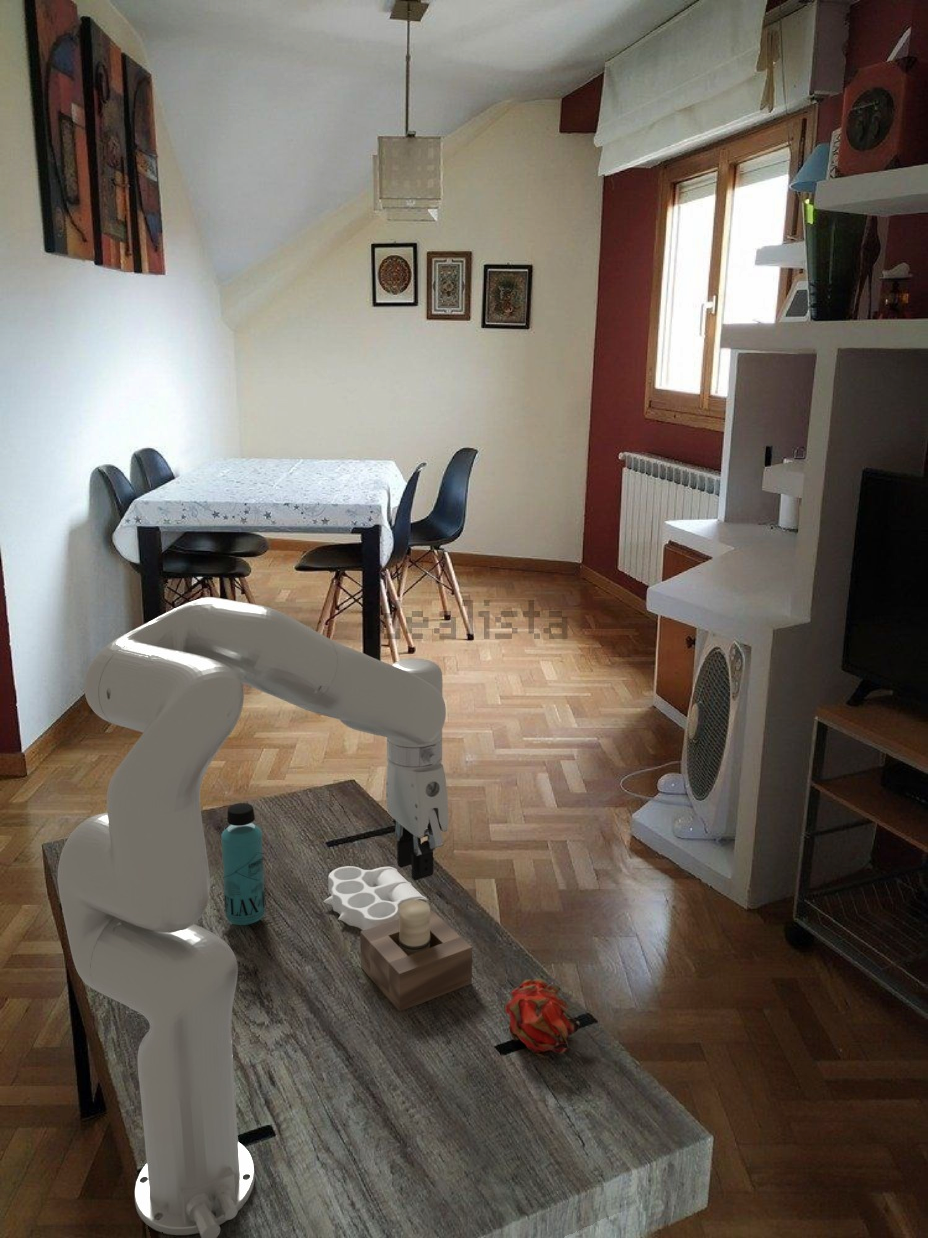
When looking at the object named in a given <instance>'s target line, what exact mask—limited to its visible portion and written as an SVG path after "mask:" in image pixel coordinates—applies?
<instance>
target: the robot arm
mask: <svg viewBox="0 0 928 1238" xmlns="http://www.w3.org/2000/svg"><path fill="white" fill-rule="evenodd" d="M243 685H246V686H247V687H248V686H249V687H251V688H254V689H256V690H258V691H261V692H262V693H265V694H268V695H270V696H273V697H275V698H278V699H280V700H282V701H283V702H287V703H289V704H291V705H294V706H295V707H298V708H300V709H303V710H305V711H308V712H311V713H314V714H317V715H318V714H319V715H321V716H325V717H328V718H332V719H336V720H339V721H340V722H341V723H342V724H343V725H345V726H346V727H347V728H350V729H352V730H355V731H358V732H362V733H366V734H370V735H374V736H379V737H380V736H381V737H384V738H386V762H387V767H386V784H385V785H386V786H385V795H386V796H385V801H386V810H387V813H388V815H389V816H390V817H391V818H392V819H393V824H394V825H395V832H394V833H395V835H394V836H395V838H396V840H397V841H396V842H397V843H396V844H397V845H396V849H397V851H396V853H397V854H396V855H397V856H396V859H397V860H396V861H397V864H396V865H397V867H399V868H400V869H401V868H405V867H407V866H408V867H409V866H411V879H412V880H413V881H419V880H422V879H424V878H427V877H431V876H433V874H434V852H436V848H441V847H443V846H444V844H445V843H444V840H443V836H442V833H443V832H447V831H448V829H449V821H450V820H449V800H448V798H449V797H448V788H447V787H448V786H447V779H446V778H447V777H446V773H445V772H446V771H445V768H444V765H443V763H442V761H443V728H444V725H445V722H446V715H447V711H446V710H447V709H446V708H447V707H446V704H445V699H444V697H443V673H442V669H441V667H440V666H439V664H437V663H436V662H434V661H432V660H428V659H423V658H406V659H402V660H398V661H396V662H393V663H392V664H389V663H386V662H384V661H383V660H379V659H378V658H374V657H372V656H370V655H368V654H366V653H364V652H361V651H359V650H356V649H354V648H351V647H349V646H346V645H344V644H341V643H339V642H337V641H335V640H333V639H330V638H329V637H327V636H326V635H324V634H322V633H320V632H318V631H316V630H314V629H313V628H311V627H310V626H307V625H305V624H304V623H302V622H300V621H298V620H297V619H295V618H293V617H291V616H289V615H287V614H285V613H284V612H282V611H279V610H277V609H274V608H271V607H268V606H265V605H260V604H256V603H255V604H254V603H248V602H244V601H243V602H242V601H237V600H231V599H226V598H220V597H213V596H207V597H202V598H198V599H196V600H195V599H194V600H192V601H189V602H186V603H183V604H182V605H179V606H177V607H175V608H173V609H171V610H169V611H166V612H164V613H163V614H160V615H158V616H157V617H155V618H153V619H152V620H150V621H148V622H145V623H143V624H142V625H139V626H138V627H136V628H134V629H132V630H130V631H129V632H126V633H125V634H123V635H121V636H119V637H117V638H116V639H114V640H112V641H111V642H110V643H109V642H108V643H107V644H106V645H105V646H104V647H103V648H101V650H99V652H98V653H97V654H96V655H95V656H94V657H93V659H92V661H91V662H90V664H89V666H88V668H87V670H86V673H85V676H84V685H83V689H84V695H85V699H86V703H87V704H88V706H89V707H90V708H91V710H92V711H93V712H94V713H95V714H96V715H97V716H98V717H99V718H101V719H102V720H104V721H106V722H108V723H110V724H112V725H115V726H119V727H124V728H127V729H130V730H134V731H137V732H141V733H142V734H141V735H140V736H139V738H138V740H136V743H134V744H133V746H132V748H131V749H130V750H129V752H128V753H127V754H126V755H125V757H124V758H123V759H122V760H121V762H120V763H119V765H118V766H117V768H116V769H115V771H114V773H113V774H112V776H111V778H110V781H109V784H108V786H107V791H106V812H103V813H99V814H95V815H92V816H90V817H88V818H87V819H85V820H84V821H82V822H80V823H79V824H78V825H77V826H76V827H75V828H74V829H73V830H72V832H71V833H70V835H69V836H68V837H67V839H66V841H65V843H64V844H63V848H62V851H61V854H60V857H59V861H58V866H57V867H58V868H57V886H58V893H59V900H60V903H61V904H60V905H61V909H62V913H63V914H62V915H63V918H64V919H63V920H64V923H65V929H66V934H67V939H68V943H69V947H70V952H71V953H70V954H71V956H72V961H73V965H74V967H75V969H76V972H77V973H78V976H79V977H80V978H81V980H82V982H84V983H85V984H86V985H87V986H88V987H89V988H91V989H92V990H94V991H95V992H98V993H99V994H102V995H104V996H105V997H108V998H110V999H112V1000H114V1001H116V1002H118V1003H120V1004H122V1005H125V1006H127V1007H128V1008H130V1009H131V1010H133V1011H135V1012H137V1013H139V1014H141V1015H142V1016H143V1017H145V1018H146V1020H147V1021H148V1023H149V1029H148V1031H147V1033H145V1035H144V1036H143V1038H142V1040H141V1041H140V1044H139V1046H138V1050H137V1060H136V1061H137V1075H138V1083H139V1093H140V1104H141V1112H142V1124H143V1135H144V1146H145V1157H146V1158H145V1159H146V1164H145V1165H144V1166H143V1168H142V1169H141V1170H140V1172H139V1174H138V1176H137V1179H136V1180H135V1186H134V1204H135V1208H136V1212H137V1214H138V1216H139V1217H140V1220H142V1221H143V1223H145V1224H146V1225H147V1226H149V1228H151V1229H153V1230H154V1231H156V1232H160V1233H162V1232H163V1233H162V1234H166V1235H172V1236H173V1235H174V1236H189V1235H195V1234H199V1235H200V1238H218V1236H219V1235H220V1234H221V1227H220V1225H222V1224H224V1223H225V1222H227V1221H229V1220H233V1219H234V1218H235V1217H236V1216H237V1215H238V1212H239V1211H240V1210H241V1209H242V1208H243V1207H244V1205H245V1204H246V1202H247V1201H248V1200H249V1198H250V1196H251V1194H252V1192H253V1189H254V1186H255V1185H254V1184H255V1179H256V1178H255V1175H256V1173H255V1163H254V1161H253V1160H254V1159H253V1157H252V1155H251V1153H250V1151H248V1149H247V1148H246V1147H245V1146H244V1145H243V1144H242V1143H240V1142H239V1137H238V1136H239V1135H238V1134H239V1133H238V1121H237V1105H236V1104H237V1103H236V1102H237V1101H236V1089H235V1087H236V1086H235V1073H234V1072H235V1071H234V1070H235V1069H234V1057H233V1056H234V1055H233V1040H232V1038H233V1037H232V1036H233V1035H232V1017H233V1006H234V1000H235V992H236V988H237V982H238V972H239V971H238V968H239V967H238V961H237V957H236V955H235V953H234V951H233V950H232V948H231V946H230V945H229V944H228V943H227V942H226V941H225V940H224V939H223V938H221V937H220V936H219V935H218V934H216V933H214V932H212V931H211V930H208V929H206V928H204V927H202V926H199V925H197V924H196V923H197V922H198V921H199V920H200V919H201V918H202V916H203V915H204V914H205V912H206V909H207V908H208V904H209V901H210V895H211V890H210V889H211V877H210V876H211V875H210V867H209V861H208V853H207V847H206V838H205V832H204V825H203V824H204V823H203V818H202V808H201V806H202V804H201V790H202V789H201V787H202V784H203V780H204V777H205V775H206V773H207V771H208V769H209V766H210V765H211V763H212V761H213V760H214V758H215V757H216V755H217V753H218V752H219V750H220V749H221V747H222V746H223V744H224V743H225V742H226V741H227V739H228V738H229V736H230V735H231V733H232V732H233V730H234V729H235V727H236V726H237V724H238V722H239V720H240V717H241V714H242V711H243V706H244V700H245V699H244V698H245V696H244V695H245V693H244V687H243ZM423 838H427V840H423V841H422V839H423Z"/></svg>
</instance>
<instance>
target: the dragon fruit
mask: <svg viewBox="0 0 928 1238" xmlns="http://www.w3.org/2000/svg"><path fill="white" fill-rule="evenodd" d="M560 990H561V987H560V986H559V985H557V984H551V985H550V986H548V983H547V982H546V980H544V979H542V978H539V977H537V978H535V979H533V980H532V979H530V978H526V979H525V980H523V982H522V983H521V984H519V986H517V987H515V988H514V989H513V990H512V991H511V992H510V995H511V996H512V999H511V1000H510V1001H509V1000H508V1001H507V1002H506V1004H504V1006H503V1007H504V1008H503V1012H504V1013H506V1014H508V1015H509V1020H510V1021H509V1033H510V1036H511V1038H512V1039H513V1040H514V1041H518V1040H520V1041H521V1042H522V1043H523V1044H524V1045H525V1047H527V1049H528V1050H530V1051H531V1052H532V1054H533V1055H536V1056H538V1057H540V1058H543V1059H550V1057H549V1056H548V1055H547V1051H552V1052H555V1053H558V1054H559V1055H562V1054H563V1053H564V1052H565V1051H566V1050H569V1044H568V1043H569V1042H571V1040H570V1036H572V1034H575V1033H577V1031H578V1030H579V1027H580V1024H581V1023H580V1022H579V1021H578V1020H576V1019H575V1018H574V1016H572V1015H570V1010H569V1009H568V1008H569V1007H570V1005H569V1004H568V1002H567V1000H564V999H562V998H559V997H558V995H559V992H560Z"/></svg>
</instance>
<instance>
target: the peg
mask: <svg viewBox="0 0 928 1238" xmlns="http://www.w3.org/2000/svg"><path fill="white" fill-rule="evenodd" d="M430 909H431V906H430V904H429V903H428V904H427V903H426V902H424V901H421V900H409V901H406V902H404V903H402V904H401V905H400V907H399V947H400V948H401V949H402V950H403V951H404V952H405V953H406V954H407V955H408V956H409V955H411V954H414V953H417V952H420V951H423V950H425V949H428V948H430V942H431V936H430Z"/></svg>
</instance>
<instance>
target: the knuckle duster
mask: <svg viewBox="0 0 928 1238" xmlns="http://www.w3.org/2000/svg"><path fill="white" fill-rule="evenodd" d="M327 878H328V879H327V881H328V883H327V884H328V885H327V886H328V894H330V896H329V897H328V898H326V899H325V900H323V901H322V903H324V904H327V905H330V906H331V907H332V910H333V912H336V913H338V914H339V917H338V918H337V920H338V921H342V922H343V923H345V924H347V925H348V926H352V927H356V928H358V929H360V930H361V931H364V930H367V929H370V928H373V927H376V926H379V925H382V924H385V923H388V922H391V921H394V920H397V919H399V907H400V905H401V904H402V903H404V902H406V901H409V900H421V901H424V902H426V903H427V904H428V905H429V901H428V898H427V897H426V896H424V895H422V894H421V893H420V892H419V891H418V890H417V889H416V888H415V887H414V886H413V883H411V881H408V880H407V879H406V878H405V877H403V876H402V874H400V872H398V869H397V868H395V867H392V866H382V867H381V866H380V867H377V868H373V869H362V868H361V867H358V866H352V865H351V866H349V865H348V866H347V865H346V866H340V867H337V868H335V869H333V870H332V871H331V872H330V873H329V874H328V877H327Z"/></svg>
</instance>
